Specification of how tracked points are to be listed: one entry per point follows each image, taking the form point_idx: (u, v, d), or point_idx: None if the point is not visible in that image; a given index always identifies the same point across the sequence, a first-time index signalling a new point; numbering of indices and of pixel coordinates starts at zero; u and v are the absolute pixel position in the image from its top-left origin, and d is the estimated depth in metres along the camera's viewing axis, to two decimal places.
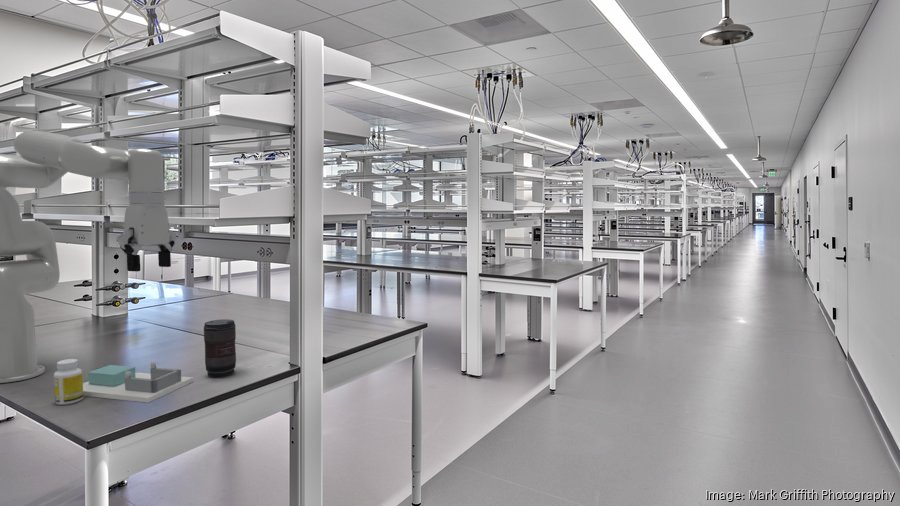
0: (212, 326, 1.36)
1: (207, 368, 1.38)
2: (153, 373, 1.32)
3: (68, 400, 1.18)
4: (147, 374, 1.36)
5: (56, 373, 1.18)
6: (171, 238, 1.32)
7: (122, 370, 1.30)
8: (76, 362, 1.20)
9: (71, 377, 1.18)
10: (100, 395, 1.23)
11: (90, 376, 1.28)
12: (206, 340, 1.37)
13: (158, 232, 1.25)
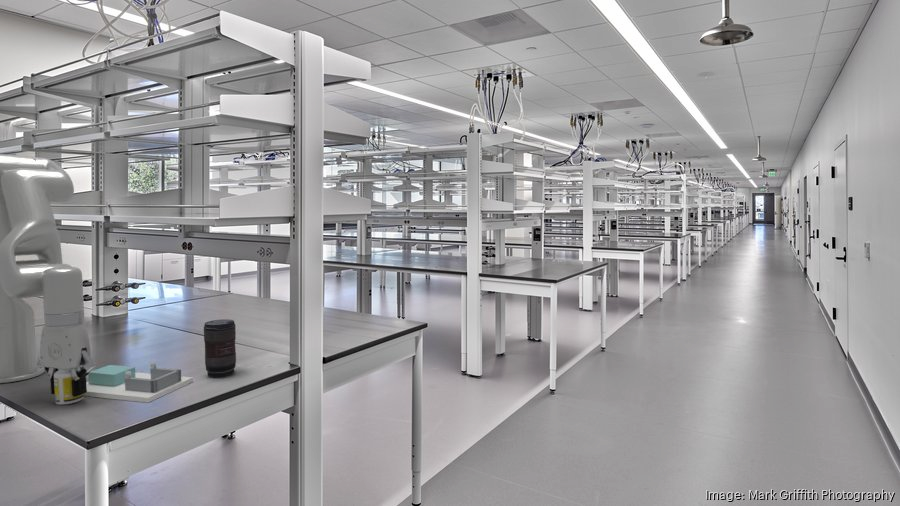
0: (212, 326, 1.36)
1: (207, 368, 1.38)
2: (153, 373, 1.32)
3: (68, 400, 1.18)
4: (147, 374, 1.36)
5: (56, 373, 1.18)
6: None
7: (122, 370, 1.30)
8: None
9: (71, 377, 1.18)
10: (100, 395, 1.23)
11: (90, 376, 1.28)
12: (206, 340, 1.37)
13: None
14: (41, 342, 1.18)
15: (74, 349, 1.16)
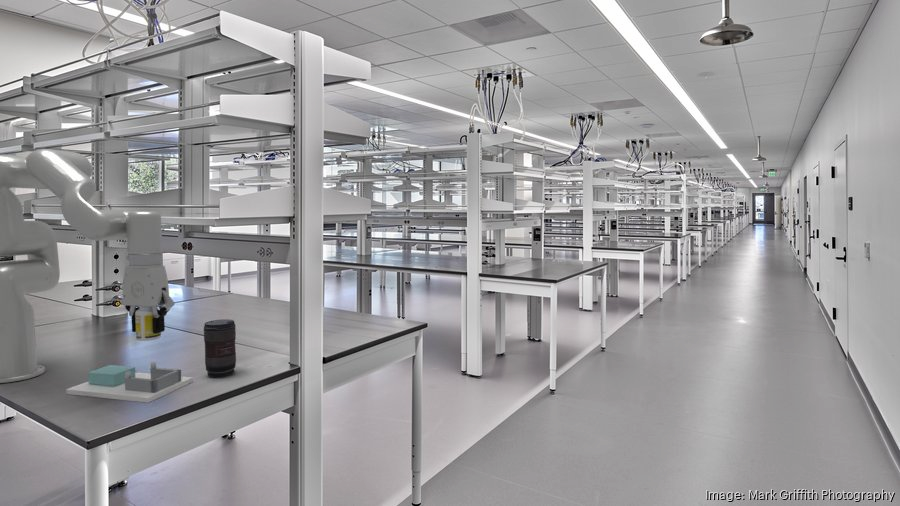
0: (212, 326, 1.36)
1: (207, 368, 1.38)
2: (153, 373, 1.32)
3: (149, 337, 1.25)
4: (147, 374, 1.36)
5: (138, 311, 1.25)
6: None
7: (122, 370, 1.30)
8: None
9: (151, 315, 1.25)
10: (100, 395, 1.23)
11: (90, 376, 1.28)
12: (206, 340, 1.37)
13: None
14: (124, 281, 1.24)
15: (156, 287, 1.23)
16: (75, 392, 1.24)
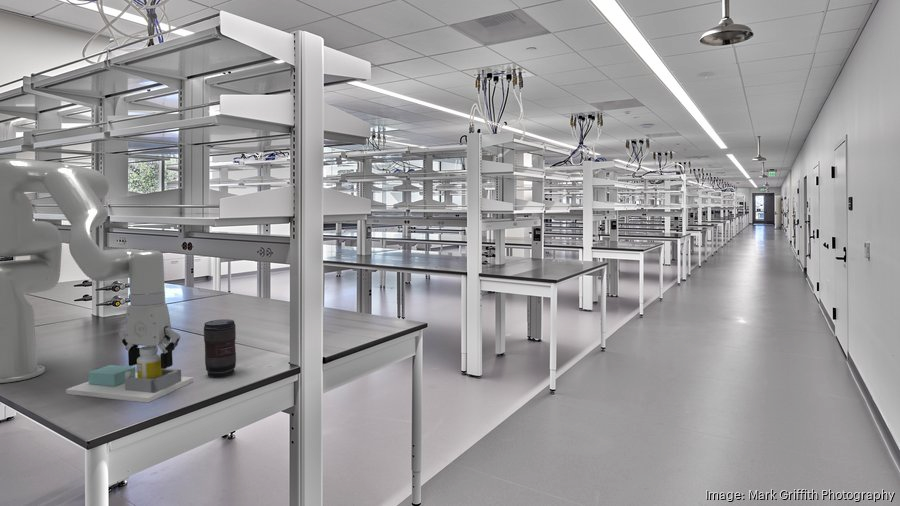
0: (212, 326, 1.36)
1: (207, 368, 1.38)
2: None
3: None
4: None
5: (139, 358, 1.26)
6: None
7: (122, 370, 1.30)
8: (157, 348, 1.28)
9: (153, 362, 1.26)
10: (100, 395, 1.23)
11: (90, 376, 1.28)
12: (206, 340, 1.37)
13: None
14: (126, 321, 1.25)
15: (158, 327, 1.24)
16: (75, 392, 1.24)
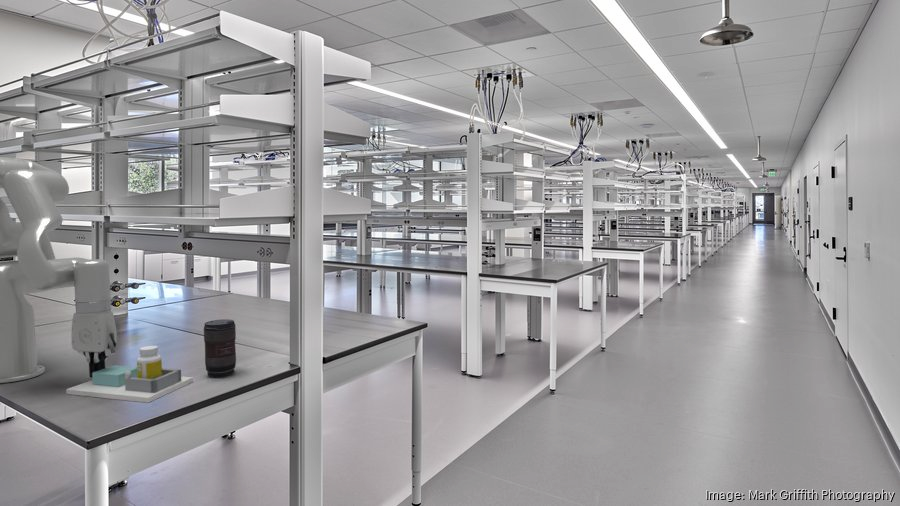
0: (212, 326, 1.36)
1: (207, 368, 1.38)
2: None
3: None
4: None
5: (139, 358, 1.26)
6: None
7: (126, 370, 1.30)
8: (157, 348, 1.28)
9: (153, 362, 1.26)
10: (100, 395, 1.23)
11: (94, 376, 1.28)
12: (206, 340, 1.37)
13: None
14: (72, 328, 1.29)
15: (103, 334, 1.28)
16: (75, 392, 1.24)
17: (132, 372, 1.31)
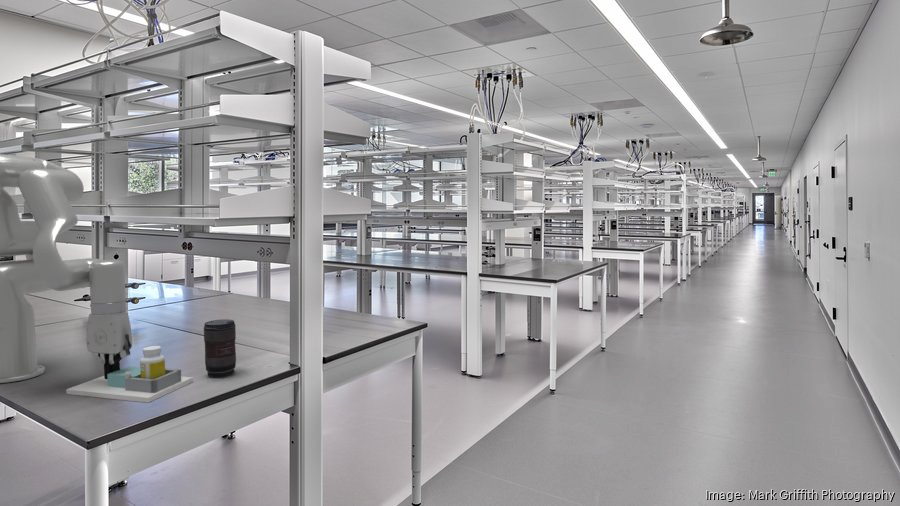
0: (212, 326, 1.36)
1: (207, 368, 1.38)
2: None
3: None
4: None
5: (143, 359, 1.26)
6: None
7: None
8: (160, 349, 1.28)
9: (156, 362, 1.26)
10: (100, 395, 1.23)
11: (109, 377, 1.27)
12: (206, 340, 1.37)
13: None
14: (87, 329, 1.28)
15: (118, 335, 1.27)
16: (75, 392, 1.24)
17: None
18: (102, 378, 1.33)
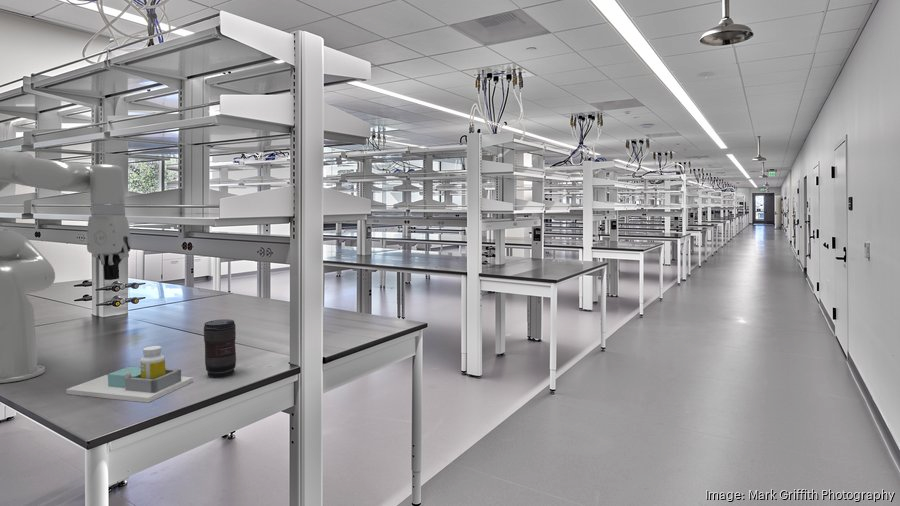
0: (212, 326, 1.36)
1: (207, 368, 1.38)
2: None
3: None
4: None
5: (143, 359, 1.25)
6: None
7: None
8: (160, 349, 1.28)
9: (157, 362, 1.26)
10: (100, 395, 1.23)
11: (109, 377, 1.27)
12: (206, 340, 1.37)
13: None
14: (88, 230, 1.33)
15: (117, 235, 1.31)
16: (75, 392, 1.24)
17: None
18: (102, 378, 1.33)
